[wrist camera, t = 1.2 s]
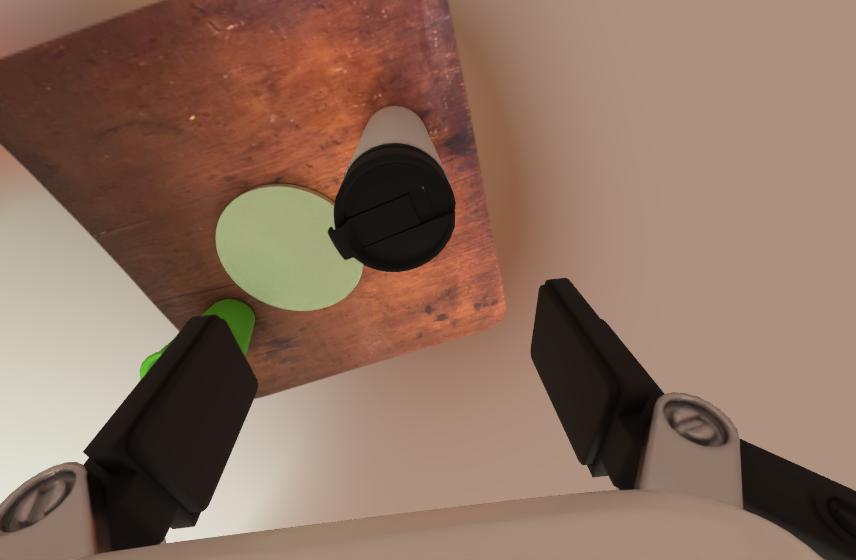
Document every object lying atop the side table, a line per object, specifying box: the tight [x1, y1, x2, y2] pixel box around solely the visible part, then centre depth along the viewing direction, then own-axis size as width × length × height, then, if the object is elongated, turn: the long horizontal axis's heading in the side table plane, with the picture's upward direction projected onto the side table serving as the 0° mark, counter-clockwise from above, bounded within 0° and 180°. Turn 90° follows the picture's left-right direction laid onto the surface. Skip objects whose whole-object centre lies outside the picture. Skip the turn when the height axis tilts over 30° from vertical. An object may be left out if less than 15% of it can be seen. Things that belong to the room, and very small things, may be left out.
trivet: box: [215, 184, 364, 311], centre depth 38 cm, size 16×16×1 cm
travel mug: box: [328, 105, 456, 272], centre depth 24 cm, size 6×7×20 cm
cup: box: [140, 299, 255, 379], centre depth 38 cm, size 9×9×11 cm
